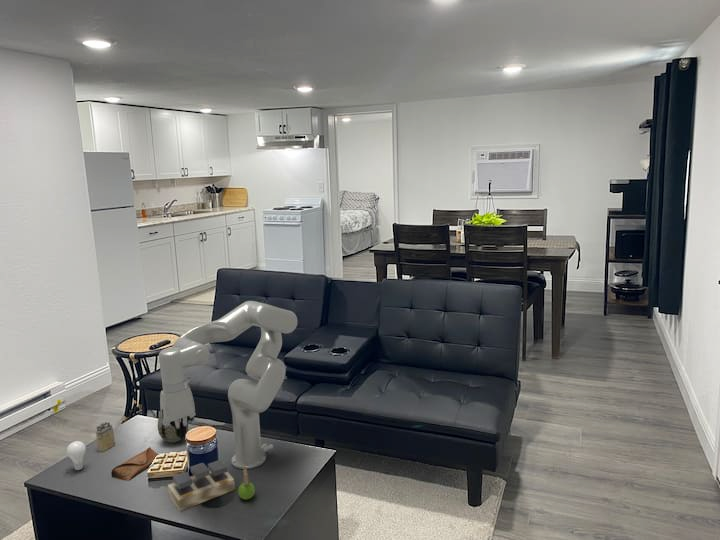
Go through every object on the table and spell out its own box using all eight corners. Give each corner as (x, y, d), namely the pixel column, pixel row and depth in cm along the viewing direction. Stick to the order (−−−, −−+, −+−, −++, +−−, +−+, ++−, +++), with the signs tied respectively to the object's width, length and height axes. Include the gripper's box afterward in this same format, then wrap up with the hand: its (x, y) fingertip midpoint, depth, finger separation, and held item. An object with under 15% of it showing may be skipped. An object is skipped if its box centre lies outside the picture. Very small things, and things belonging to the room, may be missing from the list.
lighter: (110, 442, 225) (107, 419, 223) (117, 444, 223) (114, 421, 221) (96, 450, 219) (92, 427, 217) (103, 452, 217) (100, 429, 215)
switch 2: (220, 468, 195) (219, 459, 194) (227, 476, 190) (226, 466, 190) (208, 472, 192) (207, 463, 192) (215, 480, 188) (214, 471, 187)
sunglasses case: (128, 482, 196) (119, 465, 197) (117, 487, 199) (108, 470, 200) (166, 457, 212) (158, 441, 212) (155, 462, 215) (147, 447, 216)
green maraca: (239, 506, 181) (236, 472, 178) (238, 495, 187) (235, 462, 184) (256, 502, 182) (254, 469, 180) (254, 492, 188) (252, 459, 186)
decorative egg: (195, 436, 228) (192, 402, 225) (176, 450, 217) (172, 414, 214) (173, 432, 232) (169, 398, 229) (152, 445, 222) (149, 410, 219)
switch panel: (222, 475, 199) (221, 465, 198) (235, 489, 190) (234, 478, 189) (168, 495, 188) (167, 484, 187) (179, 511, 179) (178, 499, 178)
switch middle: (203, 471, 191) (202, 462, 191) (210, 479, 187) (209, 469, 186) (191, 475, 189) (190, 466, 188) (197, 483, 184) (196, 474, 183)
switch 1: (186, 480, 188) (185, 471, 187) (193, 488, 183) (192, 479, 183) (173, 485, 186) (172, 476, 185) (179, 493, 181) (178, 484, 180)
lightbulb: (65, 473, 203) (61, 445, 201) (78, 464, 209) (75, 436, 207) (79, 475, 201) (75, 447, 199) (92, 466, 207) (88, 439, 205)
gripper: (192, 375, 188) (198, 425, 192) (148, 388, 180) (155, 440, 184) (201, 382, 183) (207, 433, 187) (155, 396, 174) (163, 449, 178)
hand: (181, 436), depth 185 cm, fingers closed
